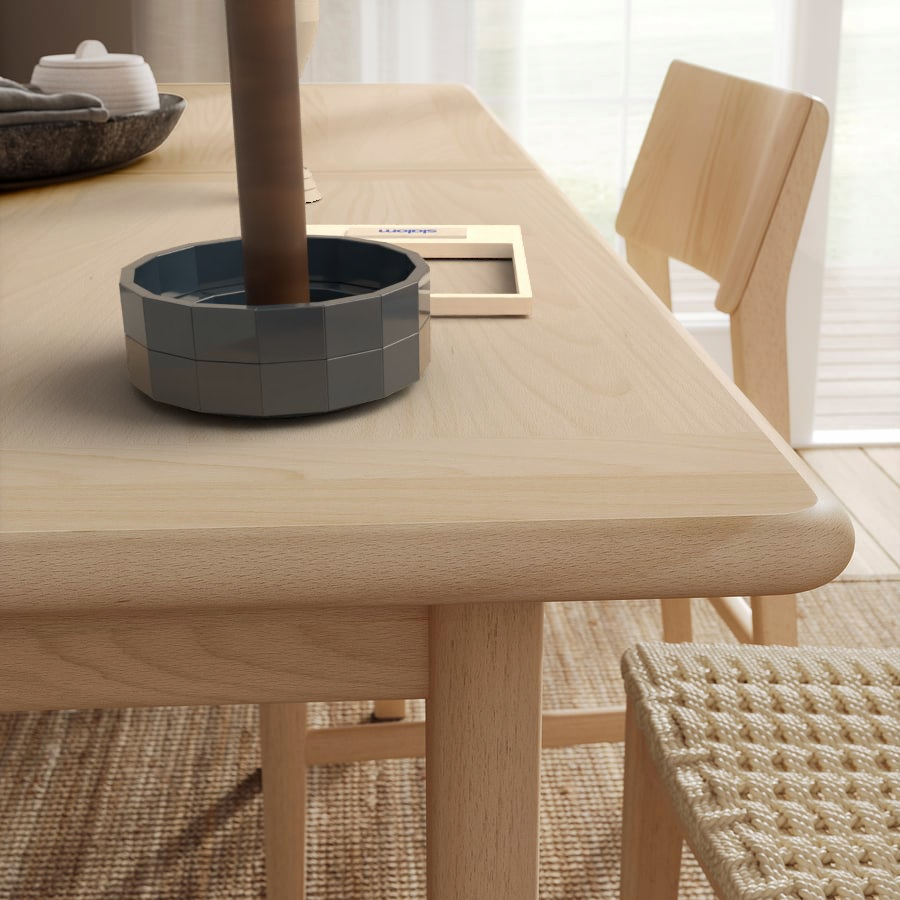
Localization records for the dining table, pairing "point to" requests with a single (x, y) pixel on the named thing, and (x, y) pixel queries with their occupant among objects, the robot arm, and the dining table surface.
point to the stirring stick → (268, 149)
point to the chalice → (305, 38)
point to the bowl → (276, 329)
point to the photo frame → (455, 245)
